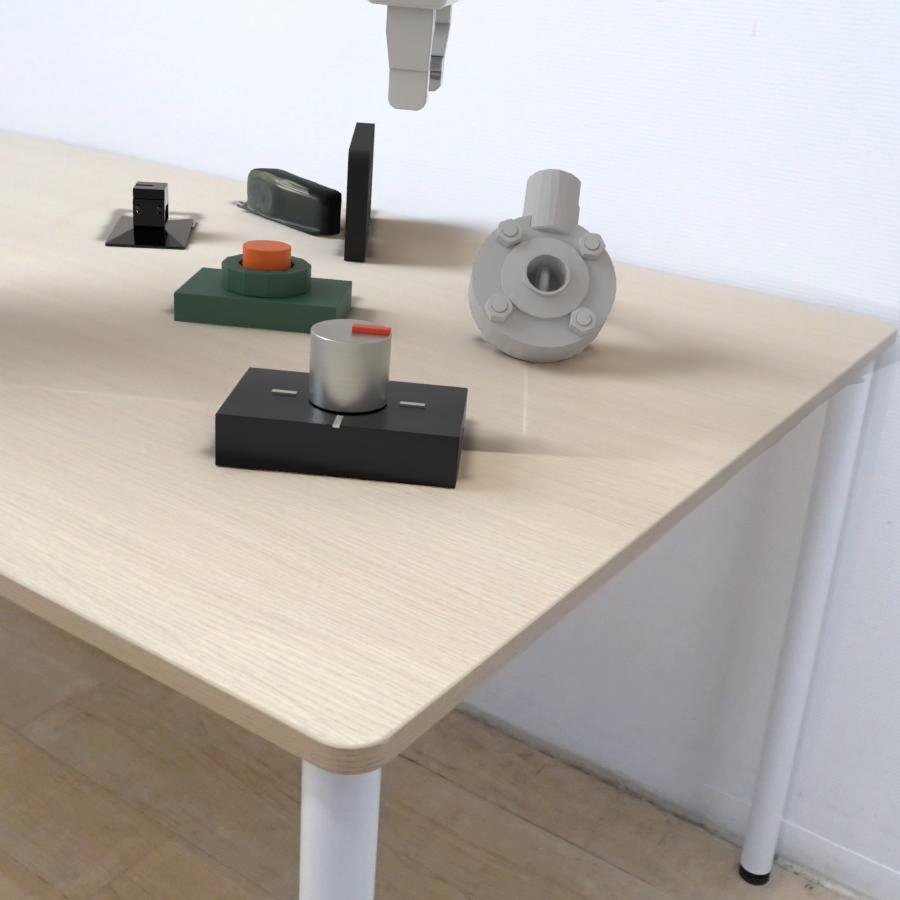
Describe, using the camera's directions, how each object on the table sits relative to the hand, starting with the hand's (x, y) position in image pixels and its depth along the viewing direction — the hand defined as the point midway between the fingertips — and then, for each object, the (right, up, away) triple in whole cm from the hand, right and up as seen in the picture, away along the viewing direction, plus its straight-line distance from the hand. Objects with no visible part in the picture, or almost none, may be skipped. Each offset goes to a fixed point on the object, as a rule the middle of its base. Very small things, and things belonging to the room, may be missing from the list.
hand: (416, 98), depth 60 cm
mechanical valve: (+8, -9, +32) cm, 34 cm away
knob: (-4, -15, +5) cm, 17 cm away
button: (-12, -4, +29) cm, 31 cm away
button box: (-12, -8, +30) cm, 33 cm away
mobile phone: (-15, +5, +61) cm, 63 cm away
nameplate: (-7, +3, +57) cm, 57 cm away
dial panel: (-4, -18, +7) cm, 20 cm away
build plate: (-27, +2, +52) cm, 58 cm away
